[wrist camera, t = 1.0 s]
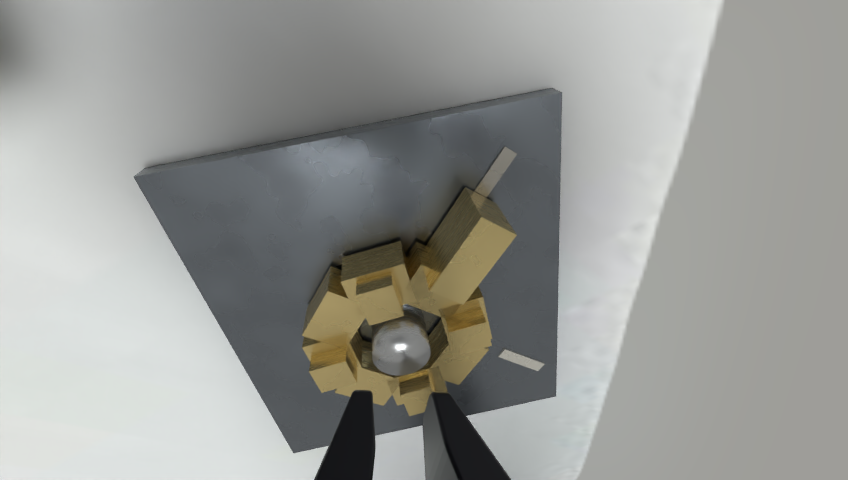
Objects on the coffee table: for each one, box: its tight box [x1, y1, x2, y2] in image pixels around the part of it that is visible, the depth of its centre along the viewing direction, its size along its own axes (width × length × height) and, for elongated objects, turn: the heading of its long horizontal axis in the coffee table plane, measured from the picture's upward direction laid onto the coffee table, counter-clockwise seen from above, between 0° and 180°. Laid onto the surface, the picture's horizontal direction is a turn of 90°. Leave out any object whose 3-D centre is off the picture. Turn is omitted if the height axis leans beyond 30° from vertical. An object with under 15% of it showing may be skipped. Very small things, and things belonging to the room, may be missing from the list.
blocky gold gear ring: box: [302, 187, 517, 416], centre depth 20 cm, size 12×9×3 cm
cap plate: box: [134, 88, 562, 453], centre depth 21 cm, size 20×18×4 cm
